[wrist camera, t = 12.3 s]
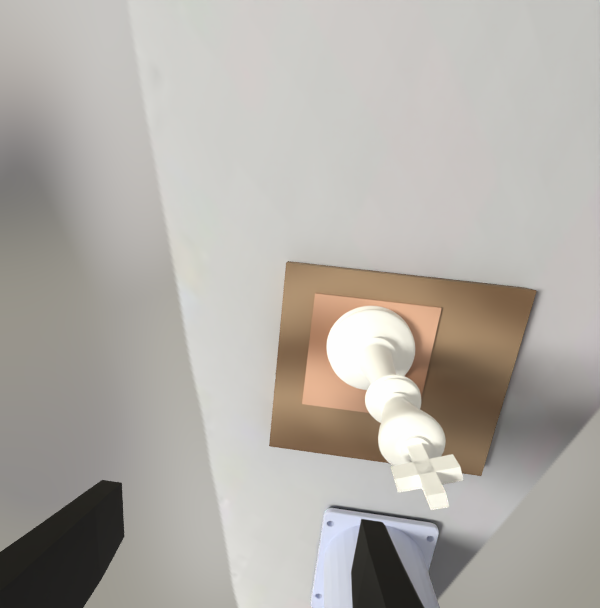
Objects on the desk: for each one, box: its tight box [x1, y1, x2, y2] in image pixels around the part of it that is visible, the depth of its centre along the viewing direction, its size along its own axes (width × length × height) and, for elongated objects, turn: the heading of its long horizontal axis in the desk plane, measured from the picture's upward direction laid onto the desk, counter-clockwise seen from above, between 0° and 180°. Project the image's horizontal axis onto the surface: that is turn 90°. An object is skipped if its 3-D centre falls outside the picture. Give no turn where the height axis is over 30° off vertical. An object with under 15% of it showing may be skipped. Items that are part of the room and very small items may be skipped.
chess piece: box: [327, 306, 463, 510], centre depth 12 cm, size 5×5×10 cm
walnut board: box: [269, 261, 536, 476], centre depth 18 cm, size 12×14×1 cm
